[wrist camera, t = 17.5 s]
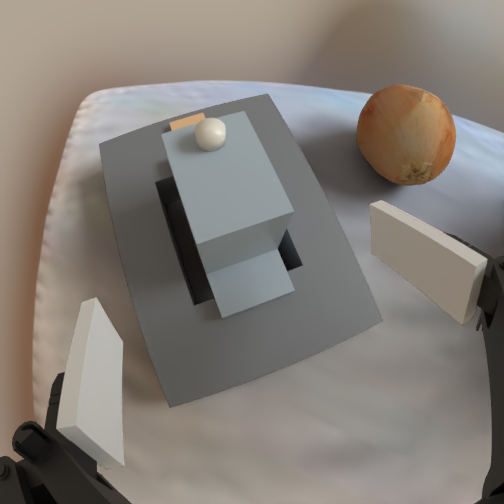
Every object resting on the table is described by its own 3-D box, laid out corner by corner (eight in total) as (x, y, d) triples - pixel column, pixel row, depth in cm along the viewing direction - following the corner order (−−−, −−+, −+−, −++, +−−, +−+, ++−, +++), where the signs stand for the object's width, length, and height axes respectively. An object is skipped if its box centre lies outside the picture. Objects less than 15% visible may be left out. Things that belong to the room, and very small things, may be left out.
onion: (358, 205, 28) (407, 144, 19) (334, 123, 31) (362, 54, 22) (435, 202, 29) (491, 154, 20) (406, 128, 32) (445, 72, 23)
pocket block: (361, 325, 25) (386, 320, 21) (179, 398, 22) (167, 409, 18) (264, 120, 31) (268, 89, 26) (112, 167, 28) (96, 140, 24)
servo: (282, 301, 25) (325, 260, 14) (224, 323, 24) (217, 301, 13) (227, 168, 28) (227, 69, 17) (175, 185, 28) (148, 90, 16)
